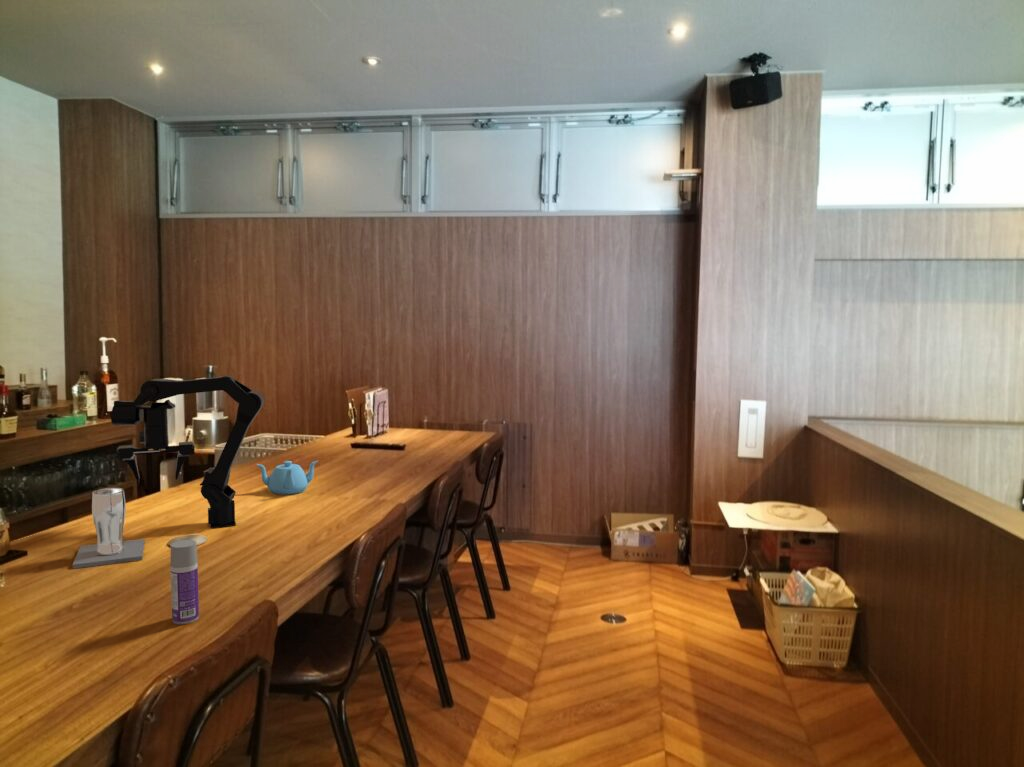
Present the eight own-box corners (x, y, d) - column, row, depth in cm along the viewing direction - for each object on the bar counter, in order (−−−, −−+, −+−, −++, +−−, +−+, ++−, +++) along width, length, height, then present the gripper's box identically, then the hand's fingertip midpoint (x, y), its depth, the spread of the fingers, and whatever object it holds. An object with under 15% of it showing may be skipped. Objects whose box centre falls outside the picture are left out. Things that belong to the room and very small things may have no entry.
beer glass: (86, 554, 160) (84, 493, 159) (111, 545, 167) (108, 486, 165) (110, 557, 158) (107, 495, 157) (133, 548, 165) (131, 488, 163)
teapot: (288, 484, 236) (287, 455, 235) (321, 489, 230) (320, 459, 229) (256, 493, 223) (255, 463, 222) (290, 499, 216) (289, 467, 215)
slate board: (144, 542, 172) (144, 538, 172) (142, 560, 160) (142, 556, 160) (80, 549, 166) (80, 546, 166) (72, 568, 153) (72, 564, 153)
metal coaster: (206, 534, 179) (206, 533, 179) (207, 545, 171) (207, 543, 171) (168, 539, 175) (168, 537, 175) (168, 549, 167) (168, 547, 167)
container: (203, 613, 131) (201, 539, 130) (192, 624, 127) (190, 547, 125) (179, 613, 131) (176, 539, 130) (167, 624, 127) (165, 547, 125)
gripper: (193, 419, 194) (194, 472, 195) (118, 422, 185) (120, 477, 187) (193, 424, 184) (195, 480, 185) (115, 428, 176) (117, 486, 177)
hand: (157, 481), depth 184 cm, fingers open, 9 cm apart
